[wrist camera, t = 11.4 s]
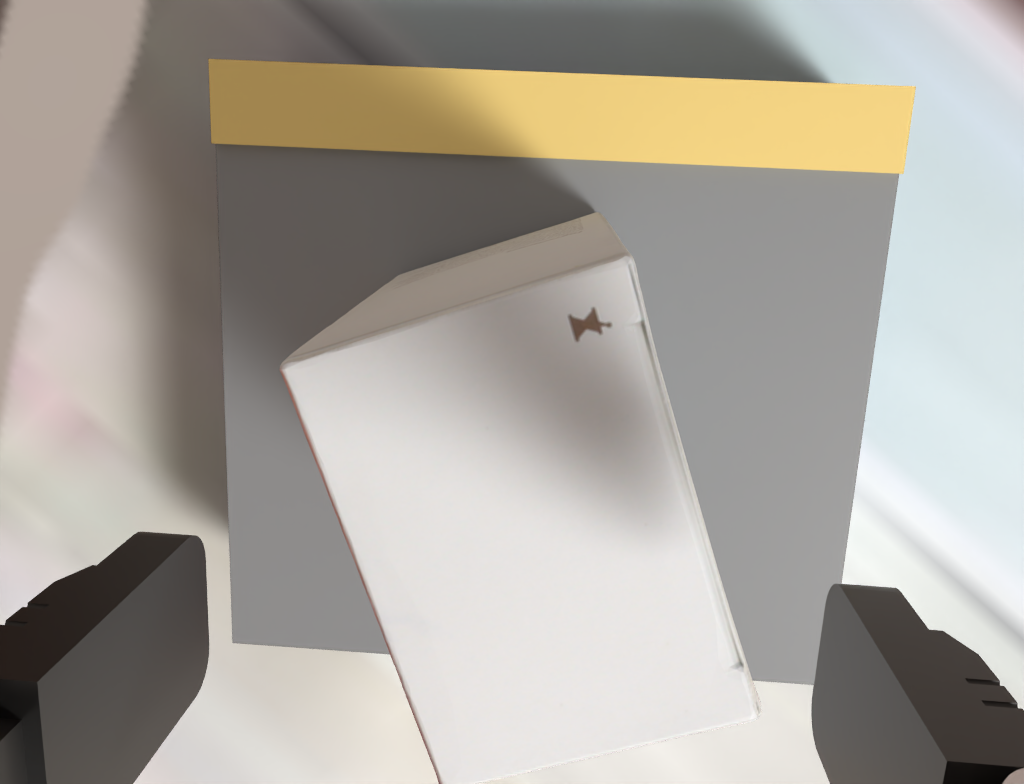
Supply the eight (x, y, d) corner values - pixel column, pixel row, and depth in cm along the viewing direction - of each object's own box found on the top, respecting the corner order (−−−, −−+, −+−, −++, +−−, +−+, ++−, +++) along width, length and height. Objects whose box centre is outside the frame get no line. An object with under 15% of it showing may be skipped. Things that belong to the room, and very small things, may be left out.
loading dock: (849, 102, 27) (915, 86, 22) (786, 603, 31) (830, 691, 25) (275, 79, 28) (208, 59, 22) (284, 569, 31) (228, 648, 26)
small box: (396, 272, 24) (263, 351, 13) (604, 207, 23) (631, 238, 13) (489, 549, 25) (434, 806, 15) (687, 497, 25) (768, 730, 14)
